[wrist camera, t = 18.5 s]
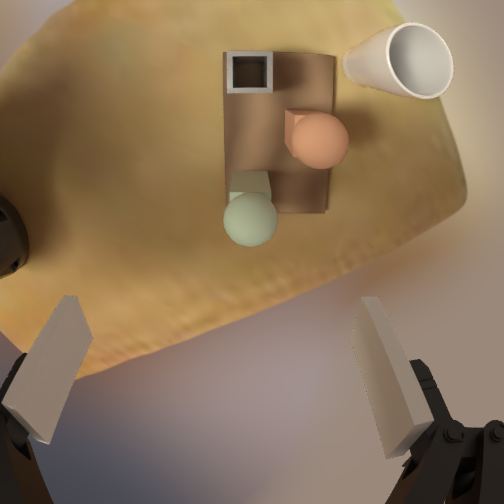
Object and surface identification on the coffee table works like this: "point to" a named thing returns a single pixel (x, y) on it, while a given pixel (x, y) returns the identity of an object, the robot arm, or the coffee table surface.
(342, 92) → the coffee table surface
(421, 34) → the drinking glass
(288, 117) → the terracotta tube
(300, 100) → the board
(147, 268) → the coffee table surface
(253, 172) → the sage tube
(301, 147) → the terracotta ball
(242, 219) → the sage ball
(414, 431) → the robot arm
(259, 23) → the coffee table surface
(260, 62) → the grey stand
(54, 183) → the coffee table surface
